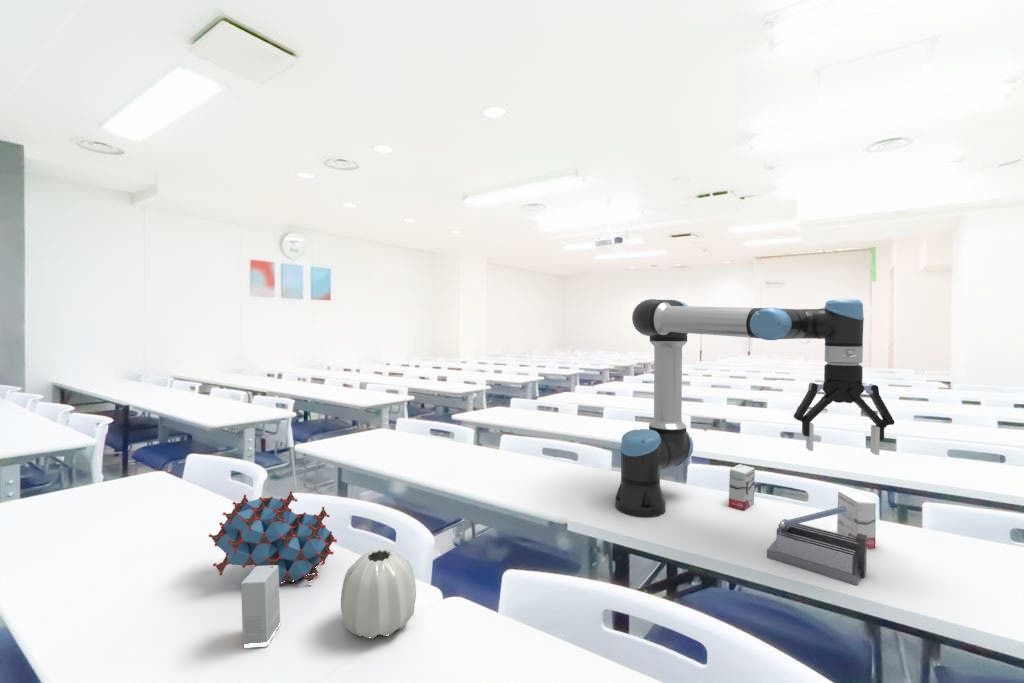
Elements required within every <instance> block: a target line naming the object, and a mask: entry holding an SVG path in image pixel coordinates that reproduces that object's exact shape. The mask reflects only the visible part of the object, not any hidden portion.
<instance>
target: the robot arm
mask: <svg viewBox="0 0 1024 683" xmlns="http://www.w3.org/2000/svg"><path fill="white" fill-rule="evenodd" d="M631 317H632V319H631V321H632V325H633V327H634V328H635V330H636V331H638V333H640V334H641V335H643V336H646V337H649V343H650V344H652V345H653V347H654V352H653V355H654V362H653V363H654V364H653V367H654V368H653V373H654V374H653V379H654V381H653V385H654V386H653V420H652V421H650V422H649V423H648V428H647V429H646V428H641V429H633V430H629V431H627V432H625V433H624V434H623V435H622V437H621V443H620V469H621V470H620V483H619V487H618V489H617V492H616V495H615V499H614V500H615V501H614V504H615V505H614V506H615V508H616V509H617V510H618V511H620V512H621V513H624V514H627V515H630V516H632V517H633V516H634V517H643V518H648V517H649V518H652V517H653V518H654V517H658V516H661V515H663V514H665V513H666V506H667V504H666V500H665V497H664V493H663V490H662V487H661V480H660V479H661V471H663V470H666V469H669V468H672V467H678V466H680V465H681V464H683V463H686V462H687V461H688V460H689V459H690V458H691V456H692V454H693V451H694V443H693V438H692V436H690V433H689V432H688V431H687V424H686V423H684V422H683V421H682V412H683V411H682V405H683V404H682V403H683V402H682V400H683V399H682V398H683V397H682V395H683V382H682V381H683V347H684V346H685V345H686V344H687V343H688V334H693V335H694V334H695V335H707V336H708V335H710V336H723V337H737V338H749V339H751V338H752V339H761V340H765V341H777V340H793V339H794V340H799V339H800V340H801V339H803V340H805V339H807V340H809V339H817V340H822V339H823V340H824V359H823V360H824V362H825V365H824V366H823V367H824V369H823V370H824V377H823V380H824V381H823V383H822V384H820V383H815V382H810V383H808V390H807V393H806V394H805V395H804V397H803V399H802V401H801V402H800V404H799V406H798V407H797V409H796V411H795V412H794V414H793V418H794V419H795V420H796V421H799V422H801V426H802V427H801V433H802V435H803V437H806V439H805V440H806V442H805V446H806V449H807V450H808V451H812V452H814V423H812V421H813V420H814V419H815V418H816V417H817V416H818V415H819V414H820V413H821V412H822V411H823V410H824V409H825V408H826V407H828V405H830V404H832V403H833V402H834V403H839V404H840V403H847V404H852V403H854V404H856V405H857V406H858V407H859V409H861V411H862V412H864V414H865V415H866V416H867V417H868V418H869V419H870V420H871V421H872V422H873V423H874V424H871V425H870V453H871V454H874V455H876V456H880V443H881V442H880V441H884V440H885V428H887V426H893V425H895V420H894V419H893V416H892V414H891V413H890V411H889V410H888V408H887V406H886V404H885V403H884V400H883V399H882V397H881V395H880V390H879V386H878V385H876V384H873V383H869V384H867V385H865V384H863V370H864V369H863V366H862V365H860V364H861V363H863V358H864V357H863V352H864V351H863V350H864V346H863V344H864V343H863V342H864V340H863V339H864V320H865V317H864V304H863V302H862V301H861V300H859V299H851V298H850V299H848V298H847V299H830V300H827V301H826V302H825V305H824V308H823V307H822V308H799V309H798V308H778V307H737V306H736V307H732V306H729V307H728V306H694V305H693V306H692V305H691V306H689V305H688V304H686V303H685V302H683V301H680V300H676V299H656V298H655V299H653V298H652V299H651V298H650V299H646V300H643V301H641V302H640V303H638V304H637V305H636V306H635V307H634V310H633V311H632V316H631ZM821 390H822V391H823V392H824V393H825V394H824V395H823V396H822V397H821V398H820V400H819V401H817V403H815V405H814V406H813V407H811V409H810V410H809V411H808V409H809V407H810V406H811V404H812V402H813V401H814V399H815V398H816V396H817V394H818V393H820V391H821ZM864 391H865V392H866V394H868V395H869V397H870V399H871V401H872V402H873V404H874V406H875V408H876V409H877V411H878V413H879V415H880V417H881V418H880V417H879V415H878V414H877V413H876V412H875V411H874V410H873V409H872V408H871V407H870V406H869V405H868V404H867V403H866V401H865V400H864V399H863V398H862V397H861V395H862V394H863V393H864Z"/></svg>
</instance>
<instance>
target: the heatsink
mask: <svg viewBox="0 0 1024 683" xmlns="http://www.w3.org/2000/svg"><path fill="white" fill-rule="evenodd" d="M867 551H868V548H867V535H863V534H859V533H858V534H857V536H856V538H854V537H850V536H846V535H842V534H838V533H837V532H833V531H830V530H826V529H822V528H818V527H814V526H810V525H806V524H802V523H798V524H794V525H790V526H786V527H785V528H784V529H780V528H779V526H778V527H777V528H776V539H775V540H774V541H773V542H772V543H771V544H770V545H769V546H768V547H767V549H766V558H768V559H771V560H774V561H778V562H781V563H784V564H787V565H791V566H793V567H796V568H800V569H802V570H807V571H810V572H812V573H816V574H819V575H823V576H825V577H829V578H832V579H835V580H838V581H842V582H845V583H849V584H850V585H854V586H858V585H859V583H860V581H861V578H862V579H865V577H866V574H867V558H868V552H867Z"/></svg>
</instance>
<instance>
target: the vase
mask: <svg viewBox="0 0 1024 683" xmlns="http://www.w3.org/2000/svg"><path fill="white" fill-rule="evenodd" d="M415 579H416V578H415V574H414V570H413V567H412V565H411V562H409V560H407V559H406V558H405V557H404V556H403V555H401V554H400V553H398V552H396V551H394V550H391V549H388V548H387V549H386V548H385V549H381V548H378V549H376V550H372V551H368V552H366V553H365V554H364V555H362V556H360V557H359V558H358V559H357V560H356V561H355V562H354V563H353V564H352V565H351V566H350V567H349V568H348V569H347V571H346V573H345V575H344V578H343V583H342V587H341V596H340V610H341V616H342V618H341V619H342V626H344V627H345V629H347V630H348V631H350V632H351V633H352V635H353V634H355V636H356V635H357V636H356V637H360V636H359V635H362V636H361V637H364V638H366V639H368V638H369V637H371V638H373V639H374V637H375V638H376V637H377V635H378V636H382V635H383V636H382V637H385V636H386V635H388V634H390V635H392V634H393V633H394V632H395V631H397V630H396V629H400V628H401V629H403V627H404V626H406V624H407V623H408V622H409V620H410V619H411V618H412V616H414V612H415V604H416V599H417V587H416V586H417V585H416V580H415ZM401 629H400V630H401Z"/></svg>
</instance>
